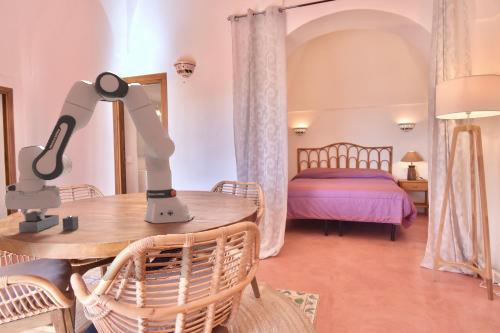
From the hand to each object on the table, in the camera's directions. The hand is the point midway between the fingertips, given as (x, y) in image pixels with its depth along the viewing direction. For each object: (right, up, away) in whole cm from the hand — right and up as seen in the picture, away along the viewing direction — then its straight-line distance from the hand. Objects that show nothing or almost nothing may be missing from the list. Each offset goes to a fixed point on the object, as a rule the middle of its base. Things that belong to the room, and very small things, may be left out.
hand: (34, 219), depth 119 cm
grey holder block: (0, -4, +3) cm, 5 cm away
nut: (0, -2, 0) cm, 2 cm away
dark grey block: (+14, -4, +1) cm, 15 cm away
